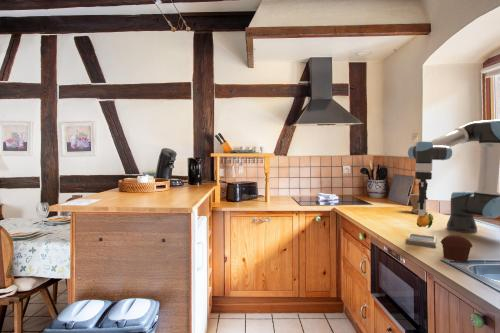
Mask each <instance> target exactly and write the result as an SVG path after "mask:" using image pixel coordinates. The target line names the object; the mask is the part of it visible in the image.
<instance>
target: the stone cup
mask: <svg viewBox="0 0 500 333" xmlns="http://www.w3.org/2000/svg"><path fill="white" fill-rule="evenodd" d="M408 197H409V201H410V204H411V206H412V208H411V212H412V213H413V214H416V215H418V207H419V203H417V201H418V200H419V193H411V194H409V195H408Z"/></svg>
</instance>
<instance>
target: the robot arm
mask: <svg viewBox="0 0 500 333" xmlns="http://www.w3.org/2000/svg"><path fill="white" fill-rule="evenodd" d="M468 142H469V143H471V142H478V144H479V146H481V153H480V163H479V172H478V182H477V184H478V185H477V189H476V190H474V191H454V192H452V193H451V195H450V215H449V216H450V217H449V218H448V220H447V223H446V228H447V229H446V230H450V231H455V232H458V233H476V232H478V226H477V224H476V220H475V218H474V217H475V216H478V217H484V218H488V219H497V218H499V217H500V192H499V191H498V187H499V186H498V184H499V178H500V177H499V174H500V119H488V120H476V121H473V122H469V123H467V124H464V125H460V126H459V127H457V128H455V129H454V130H453V131H452V132H449V133H447V134H445V135H442V136H440V137H438V138H435V139H433V140H429V141H418V142H416V145H412V146H410V147H409V148H408V150H407V155H408V157H409V159H410V160H411V159H412V160H415V164H414V165H413V167H415V172H414V179H416V180H420V182H418V194H419V200H418V201H417V203H419V207H418V214H417V216H424V215H425V212H427V201H428V198H429V197H427V190H428V183H429V182H428V181H429V180H432V179H433V172H432V171H433V161H446V160H447V161H448V160H450V159H451V158H452V156H453V149H452V147H453V146H456V145H459V144H466V143H468Z"/></svg>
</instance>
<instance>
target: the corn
mask: <svg viewBox="0 0 500 333" xmlns="http://www.w3.org/2000/svg"><path fill="white" fill-rule="evenodd" d="M417 216H418V215H417ZM433 220H434V216H433V215H432V213H428V211H426V212H425V215H424V216H418V217H417V219H416V225H417V226H418V227H419V228H425V227H427V229H430V227H431V226H432V225H433V222H434V221H433Z"/></svg>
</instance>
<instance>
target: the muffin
mask: <svg viewBox="0 0 500 333" xmlns="http://www.w3.org/2000/svg"><path fill="white" fill-rule="evenodd" d="M440 243H441V244H442V245H441V246H442V251H443V258H445V259H446V260H448V261H452V260H454V261H453V262H457V261H460V262H459V263H464V262H468V261H469V256H470V253H471V248H472V247H473V244H472V242H471V241H470V240H469V239H467V238H466V237H465V236H463V235H462V236H461V235H457V234H449V235H446V236H444V237H443V238H442V239H441V241H440Z"/></svg>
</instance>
